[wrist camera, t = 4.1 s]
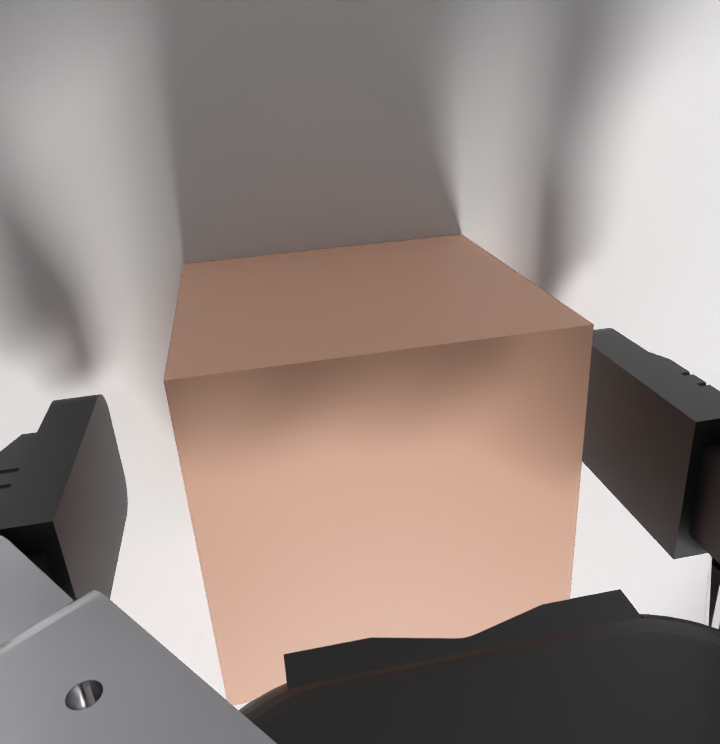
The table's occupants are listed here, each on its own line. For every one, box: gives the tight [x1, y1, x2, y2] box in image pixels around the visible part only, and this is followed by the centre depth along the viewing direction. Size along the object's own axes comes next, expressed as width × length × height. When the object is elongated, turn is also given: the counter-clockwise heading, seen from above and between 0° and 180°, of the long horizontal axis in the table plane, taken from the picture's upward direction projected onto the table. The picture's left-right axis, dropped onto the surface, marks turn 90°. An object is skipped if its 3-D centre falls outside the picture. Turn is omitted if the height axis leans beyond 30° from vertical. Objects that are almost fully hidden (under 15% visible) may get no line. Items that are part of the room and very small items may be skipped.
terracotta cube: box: [164, 234, 594, 705], centre depth 11 cm, size 5×5×5 cm
